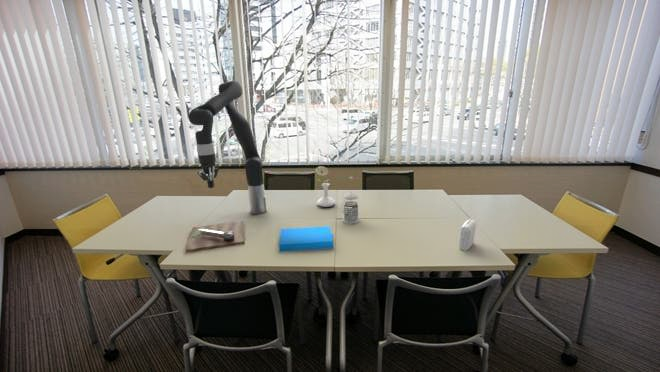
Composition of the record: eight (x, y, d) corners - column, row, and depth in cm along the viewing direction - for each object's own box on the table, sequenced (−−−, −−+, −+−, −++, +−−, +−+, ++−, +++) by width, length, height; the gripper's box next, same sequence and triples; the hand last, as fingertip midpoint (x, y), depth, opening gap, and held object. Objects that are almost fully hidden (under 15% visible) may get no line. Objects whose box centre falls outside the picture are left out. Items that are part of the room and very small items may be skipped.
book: (280, 229, 155) (329, 225, 157) (281, 236, 156) (330, 232, 158) (278, 245, 138) (333, 241, 141) (279, 254, 140) (334, 249, 142)
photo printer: (467, 251, 137) (470, 226, 133) (457, 248, 139) (460, 223, 136) (474, 243, 144) (477, 218, 140) (465, 240, 147) (468, 216, 143)
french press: (363, 219, 172) (364, 176, 164) (350, 226, 164) (350, 181, 156) (349, 214, 179) (349, 173, 171) (336, 221, 171) (335, 177, 163)
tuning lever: (236, 237, 150) (235, 231, 149) (230, 242, 146) (229, 236, 145) (202, 232, 156) (202, 226, 156) (195, 236, 152) (194, 230, 151)
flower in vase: (338, 203, 195) (338, 165, 188) (328, 209, 186) (328, 169, 179) (321, 200, 202) (320, 163, 194) (311, 205, 193) (309, 167, 185)
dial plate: (243, 223, 170) (243, 220, 170) (244, 244, 147) (244, 240, 147) (193, 229, 164) (192, 226, 163) (186, 252, 141) (185, 249, 140)
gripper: (209, 149, 153) (214, 183, 158) (189, 155, 141) (195, 191, 146) (221, 150, 150) (226, 184, 156) (202, 156, 139) (208, 192, 144)
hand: (211, 187), depth 151 cm, fingers closed
